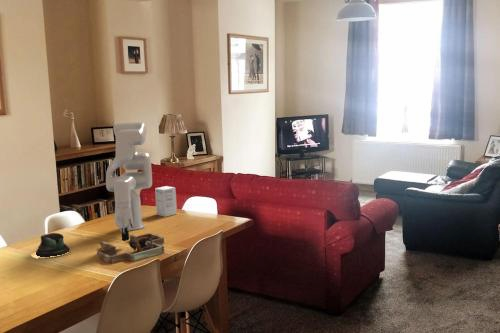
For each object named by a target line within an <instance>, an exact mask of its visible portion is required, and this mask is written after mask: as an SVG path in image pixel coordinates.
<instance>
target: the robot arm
mask: <svg viewBox="0 0 500 333" xmlns="http://www.w3.org/2000/svg"><path fill="white" fill-rule="evenodd" d="M113 134H114V136H115V157H114V159H112V161H111V162H110V163H109V165H108V166H107V170H106V174H105V177H106V178H105V187H106V190H107V191H108V192H112V193H114V225H115V226H116V227H118V228H119V230H120V233H121V234H120V235H121V241H122V242H126V241H130V231H136V230H141V229H143V228H145V223H143V222H142V220H143V219H142V205H141V204H142V202H141V196H140V193H138V191H137V190H143V189H145V190H146V189H149V188H151V187H152V186H153V173H152V172H153V171H152V170H153V169H152V160H151V156H150V154H149V153H148V152H143V151H141V152H138V151H137V146H142V145H144V144H145V141H146V137H147V125H146V124H145V122H140V121H139V122H138V121H137V122H135V121H134V122H119V123H115V124H114V125H113ZM120 167H122V169H124V170H126V171H130V172H124V173H122V174H121V175H120V176H118V175H117V176H113V174H114V172H115V171H116V169H118V168H120ZM137 170H139V171H137Z"/></svg>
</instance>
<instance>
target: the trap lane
mask: <svg viewBox="0 0 500 333" xmlns="http://www.w3.org/2000/svg"><path fill="white" fill-rule="evenodd" d="M141 237H147V238H150V239H151V240H152V244H153V246H154V247H153V248H152V249H150V250H146V251H143V252H139V251H138V252H135V253H132V252H131V253H130V252H128V251H126V252H123V253H122V252H121V253H119V254H117V246H114V245H112V244H110V243H108V242H105V241H100V248H101V249H99V250H97V251H96V257H97V259H99V260H101V261H102V262H105V263H108V264H110V263H111V264H115V263H119V262H121V261H126V260H128V261H129V262H135V261H136V262H137V261H140V260H143V259H147V258H150V257H153V256H154V257H155V256H157V255H160V254H164V253H165V246H163V245H164V244H165V237H164V236H161V235H158V234H155V233H151V232H148V233H144V234H141V235H135V234H129V242H130V241H131V240H135V241H137V240H138V239H139V238H141ZM145 244H146V245H150V244H151V242H150V241H149V240H148V241H146V243H145Z"/></svg>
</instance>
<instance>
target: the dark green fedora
mask: <svg viewBox="0 0 500 333" xmlns="http://www.w3.org/2000/svg"><path fill="white" fill-rule="evenodd" d="M69 250H70V246H69V245H67V244H66V243H64V235H63V234H61V233H58V232H57V233H56V232H53V233H52V232H51V233H47V234H44V235H43V234H42V235H41V236H40V243H39V245H38V247H37V249H36V250H35V251H36V255H37V256H40V257H50V256H57V255H62V254H65V253H67V252H69V253H70V251H71V250H70V251H69ZM67 254H68V253H67ZM65 255H66V254H65Z"/></svg>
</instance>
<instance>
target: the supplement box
mask: <svg viewBox="0 0 500 333" xmlns="http://www.w3.org/2000/svg"><path fill="white" fill-rule="evenodd" d="M154 190H155V191H154V192H155V208H156V209H155V210H156V215H158V216H161V217H164V218H165V217H169V216H174V215H177V214H178V211H177V210H178V208H177V193H176V192H177V191H176V187H174V186H169V185H165V186H161V187H155V189H154Z"/></svg>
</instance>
